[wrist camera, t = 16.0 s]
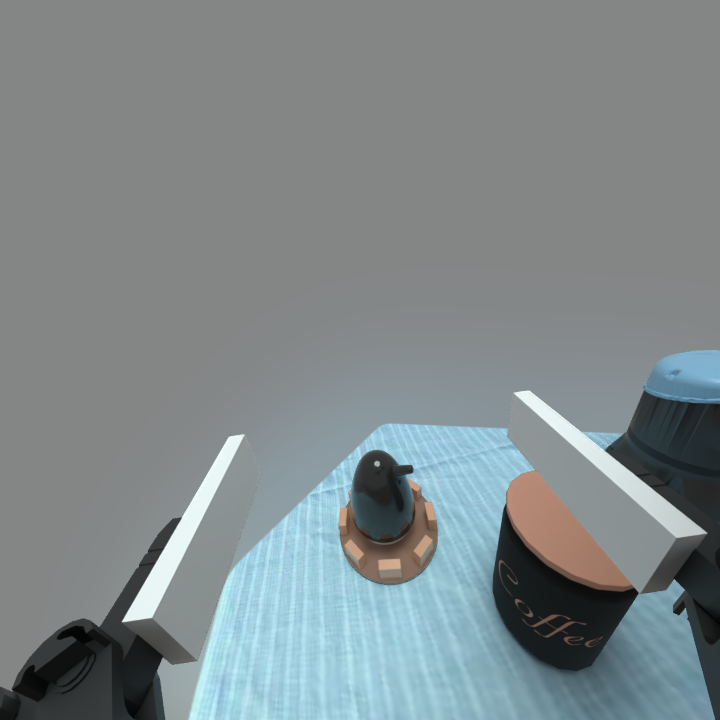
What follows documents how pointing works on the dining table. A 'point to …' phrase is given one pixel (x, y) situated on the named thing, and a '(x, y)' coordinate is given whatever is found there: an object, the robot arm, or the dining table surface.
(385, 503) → the pump dispenser
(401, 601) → the dining table surface
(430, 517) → the castellated collar
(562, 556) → the coffee jar
